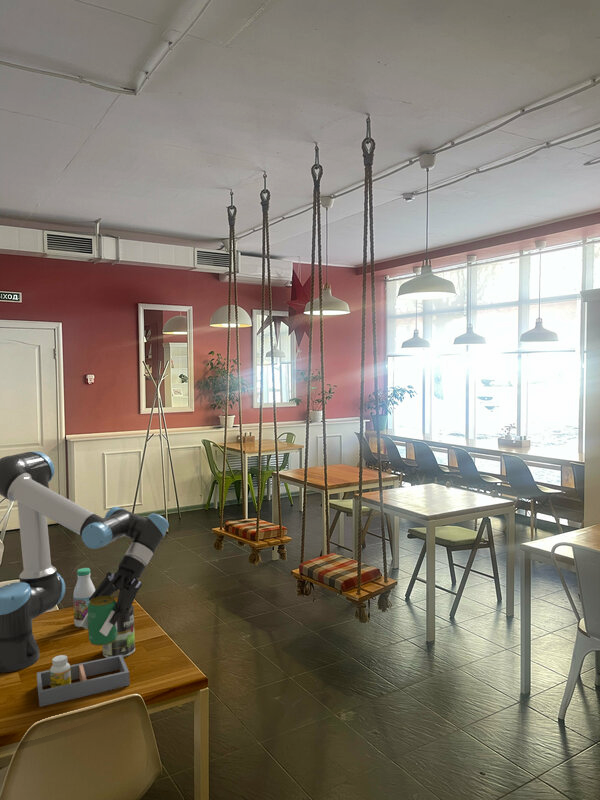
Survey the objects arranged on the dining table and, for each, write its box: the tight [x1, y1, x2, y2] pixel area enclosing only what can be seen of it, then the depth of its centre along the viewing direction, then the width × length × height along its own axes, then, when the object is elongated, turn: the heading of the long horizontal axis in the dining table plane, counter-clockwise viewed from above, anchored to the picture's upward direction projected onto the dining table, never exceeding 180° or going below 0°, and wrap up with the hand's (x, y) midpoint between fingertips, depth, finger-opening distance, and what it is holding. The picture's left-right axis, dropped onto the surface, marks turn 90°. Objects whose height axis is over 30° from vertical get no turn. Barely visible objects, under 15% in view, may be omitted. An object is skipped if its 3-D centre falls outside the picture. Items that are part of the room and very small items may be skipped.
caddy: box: [36, 655, 131, 708], centre depth 177 cm, size 12×24×4 cm, turn 116°
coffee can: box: [102, 604, 136, 658], centre depth 199 cm, size 10×10×14 cm
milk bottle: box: [72, 567, 96, 628], centre depth 222 cm, size 8×8×20 cm
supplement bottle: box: [49, 654, 72, 688], centre depth 174 cm, size 5×5×10 cm
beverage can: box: [87, 595, 117, 647], centre depth 179 cm, size 8×8×12 cm
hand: (93, 630), depth 176 cm, fingers closed on beverage can, 8 cm apart
